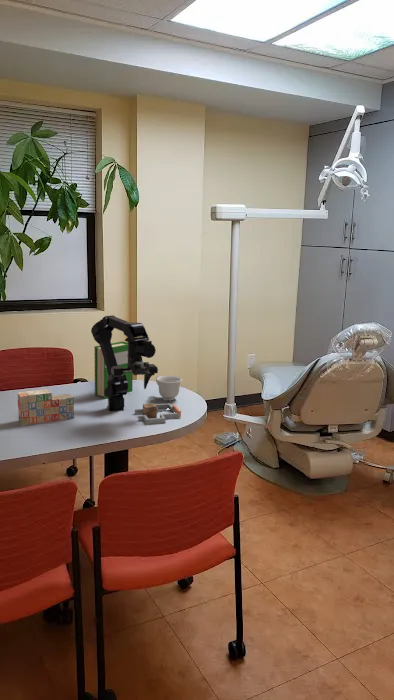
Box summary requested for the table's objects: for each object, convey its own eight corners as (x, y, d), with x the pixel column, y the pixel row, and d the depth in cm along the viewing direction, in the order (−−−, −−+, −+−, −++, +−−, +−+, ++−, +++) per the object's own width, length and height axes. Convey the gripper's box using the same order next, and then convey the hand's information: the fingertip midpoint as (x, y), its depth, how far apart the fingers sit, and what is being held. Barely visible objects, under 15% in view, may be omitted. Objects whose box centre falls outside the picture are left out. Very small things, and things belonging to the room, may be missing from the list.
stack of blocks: (70, 414, 232) (69, 386, 230) (74, 418, 227) (73, 390, 224) (18, 420, 222) (17, 391, 220) (21, 425, 217) (20, 396, 214)
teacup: (165, 392, 267) (166, 373, 265) (186, 399, 257) (187, 379, 255) (146, 397, 259) (147, 376, 257) (167, 404, 249) (168, 383, 247)
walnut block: (145, 418, 230) (145, 407, 228) (142, 415, 234) (142, 403, 233) (156, 418, 231) (156, 406, 230) (154, 414, 236) (154, 403, 235)
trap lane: (141, 424, 222) (141, 417, 221) (132, 410, 240) (132, 403, 239) (183, 421, 228) (184, 414, 227) (172, 407, 245) (172, 401, 245)
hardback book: (105, 399, 254) (105, 348, 249) (94, 395, 259) (94, 346, 254) (132, 391, 268) (132, 343, 263) (121, 388, 272) (122, 341, 267)
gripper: (117, 358, 215) (116, 396, 218) (162, 356, 221) (161, 393, 225) (110, 352, 225) (110, 389, 228) (154, 350, 231) (153, 386, 235)
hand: (134, 389), depth 229 cm, fingers open, 9 cm apart
